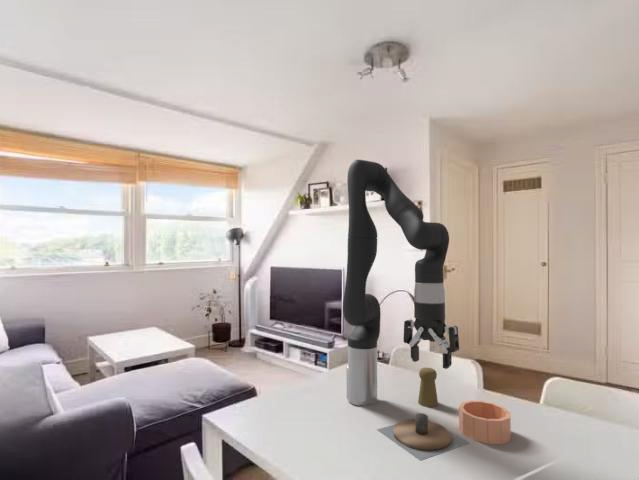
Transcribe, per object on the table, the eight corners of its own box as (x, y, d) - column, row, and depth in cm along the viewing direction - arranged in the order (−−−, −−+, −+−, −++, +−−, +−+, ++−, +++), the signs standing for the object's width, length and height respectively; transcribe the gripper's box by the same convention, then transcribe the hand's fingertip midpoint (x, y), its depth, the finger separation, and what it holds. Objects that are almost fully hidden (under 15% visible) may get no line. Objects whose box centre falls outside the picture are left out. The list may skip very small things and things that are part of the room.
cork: (439, 409, 110) (439, 372, 110) (418, 408, 111) (418, 371, 111) (437, 401, 116) (436, 366, 116) (417, 399, 117) (417, 364, 117)
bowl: (449, 428, 98) (449, 405, 98) (480, 418, 104) (480, 397, 104) (489, 450, 88) (489, 424, 88) (520, 438, 93) (520, 414, 94)
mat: (376, 431, 97) (376, 429, 97) (422, 418, 104) (422, 416, 104) (420, 462, 83) (420, 460, 83) (469, 444, 90) (469, 442, 90)
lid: (382, 430, 96) (382, 411, 97) (422, 418, 103) (422, 400, 103) (420, 457, 84) (420, 434, 84) (463, 441, 91) (463, 421, 91)
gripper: (463, 301, 92) (464, 367, 91) (413, 296, 102) (413, 356, 102) (448, 304, 87) (449, 374, 86) (397, 299, 97) (398, 361, 96)
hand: (430, 364), depth 94 cm, fingers open, 8 cm apart
